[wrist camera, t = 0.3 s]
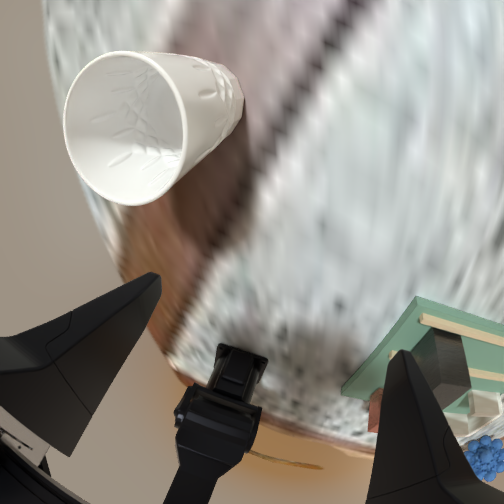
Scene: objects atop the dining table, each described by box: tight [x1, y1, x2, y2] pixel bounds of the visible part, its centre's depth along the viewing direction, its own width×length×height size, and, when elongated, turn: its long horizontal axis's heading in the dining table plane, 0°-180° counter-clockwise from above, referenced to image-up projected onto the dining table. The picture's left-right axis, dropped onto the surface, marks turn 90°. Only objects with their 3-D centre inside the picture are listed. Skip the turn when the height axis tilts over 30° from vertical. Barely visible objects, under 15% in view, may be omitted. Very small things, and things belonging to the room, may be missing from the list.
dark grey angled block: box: [368, 327, 472, 433], centre depth 25 cm, size 14×4×6 cm, turn 169°
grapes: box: [464, 436, 504, 482], centre depth 32 cm, size 12×7×12 cm, turn 122°
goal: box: [443, 390, 503, 437], centre depth 29 cm, size 8×7×5 cm
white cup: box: [63, 51, 244, 206], centre depth 16 cm, size 8×8×10 cm
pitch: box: [341, 296, 504, 414], centre depth 27 cm, size 18×26×2 cm
